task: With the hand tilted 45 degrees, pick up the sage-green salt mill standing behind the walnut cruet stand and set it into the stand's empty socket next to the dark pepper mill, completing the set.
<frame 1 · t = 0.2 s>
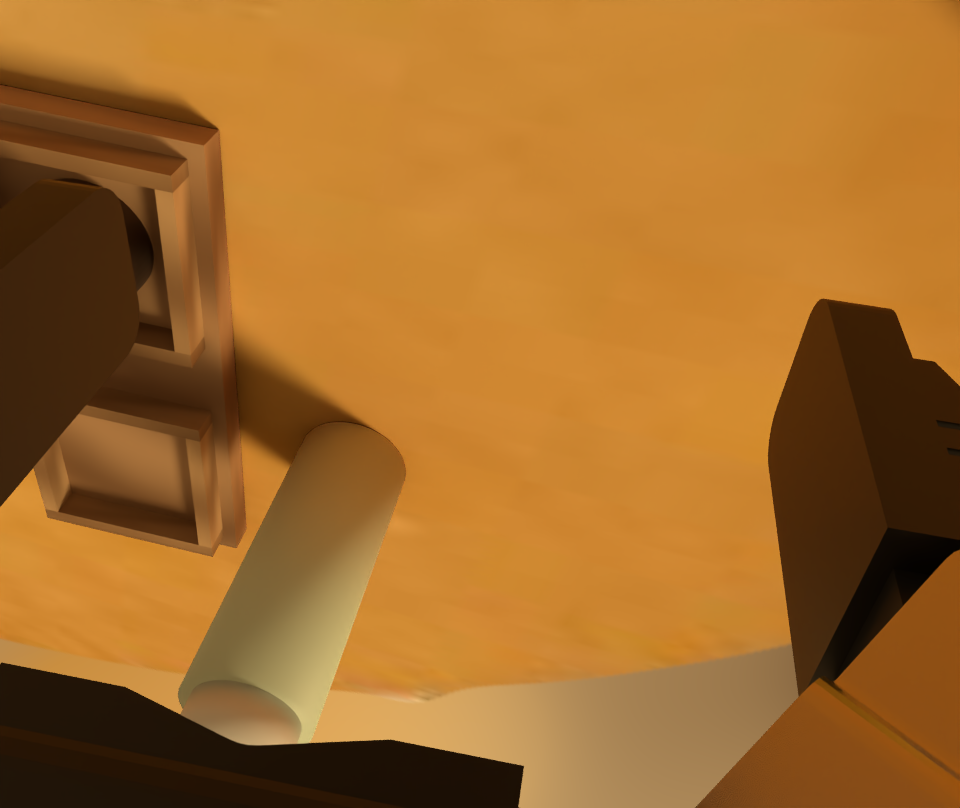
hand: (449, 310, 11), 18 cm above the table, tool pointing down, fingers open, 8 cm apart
cruet stand: (127, 341, 37), on the table
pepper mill: (91, 238, 32), point 1 cm above the table, touching cruet stand
salt mill: (353, 463, 39), on the table
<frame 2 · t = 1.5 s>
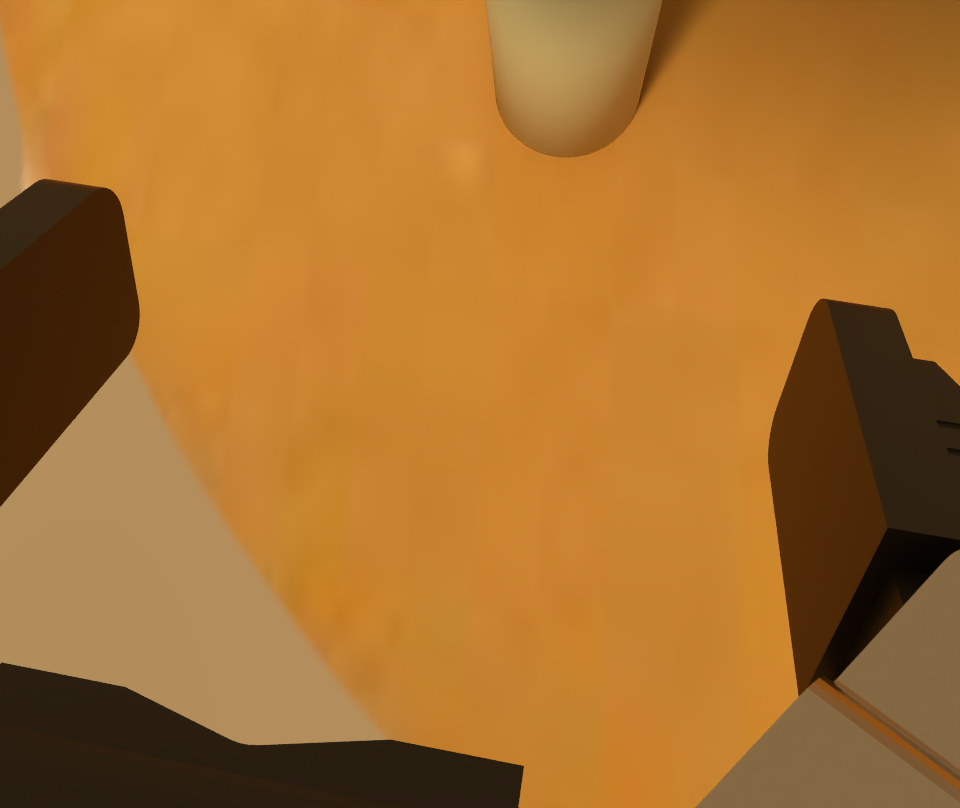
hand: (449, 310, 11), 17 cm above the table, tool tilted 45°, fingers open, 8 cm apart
salt mill: (567, 88, 29), on the table
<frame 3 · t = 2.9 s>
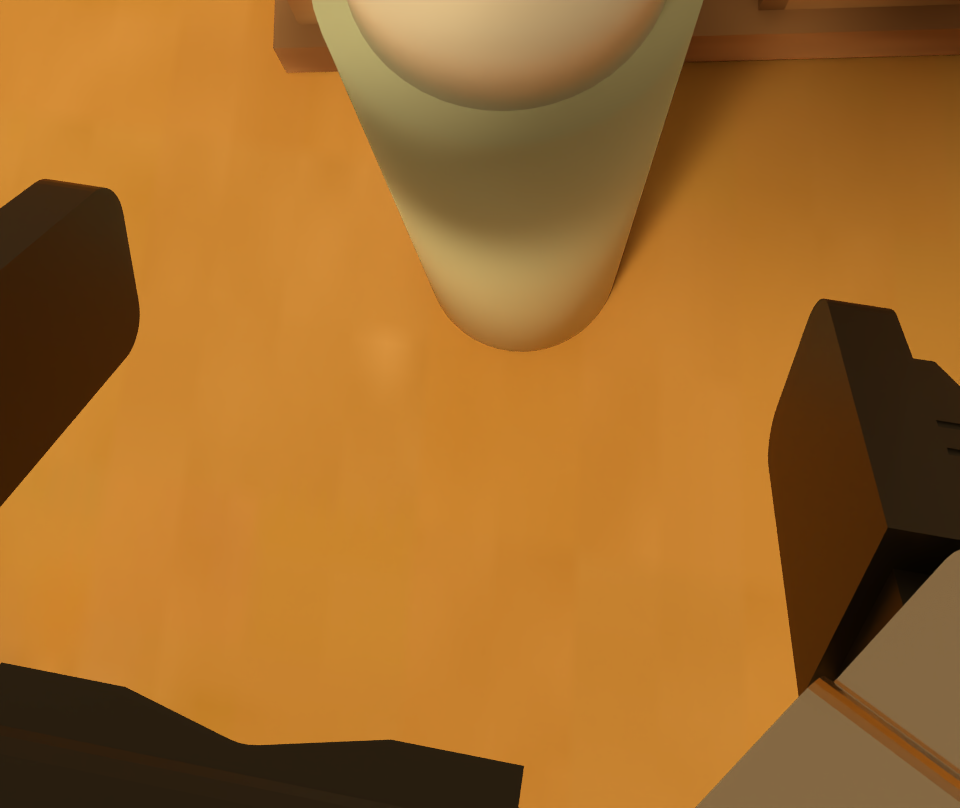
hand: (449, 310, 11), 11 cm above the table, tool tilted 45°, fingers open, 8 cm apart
salt mill: (522, 259, 22), on the table
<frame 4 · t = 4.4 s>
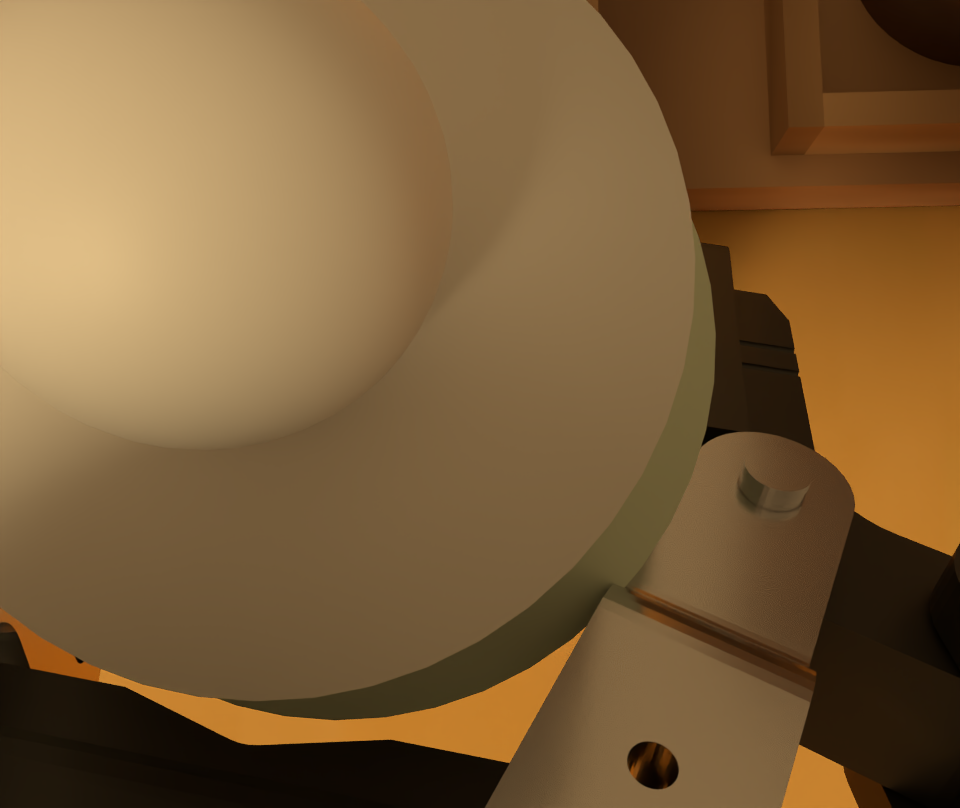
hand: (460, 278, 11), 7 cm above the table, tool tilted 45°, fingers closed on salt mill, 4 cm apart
salt mill: (471, 465, 18), on the table, touching gripper
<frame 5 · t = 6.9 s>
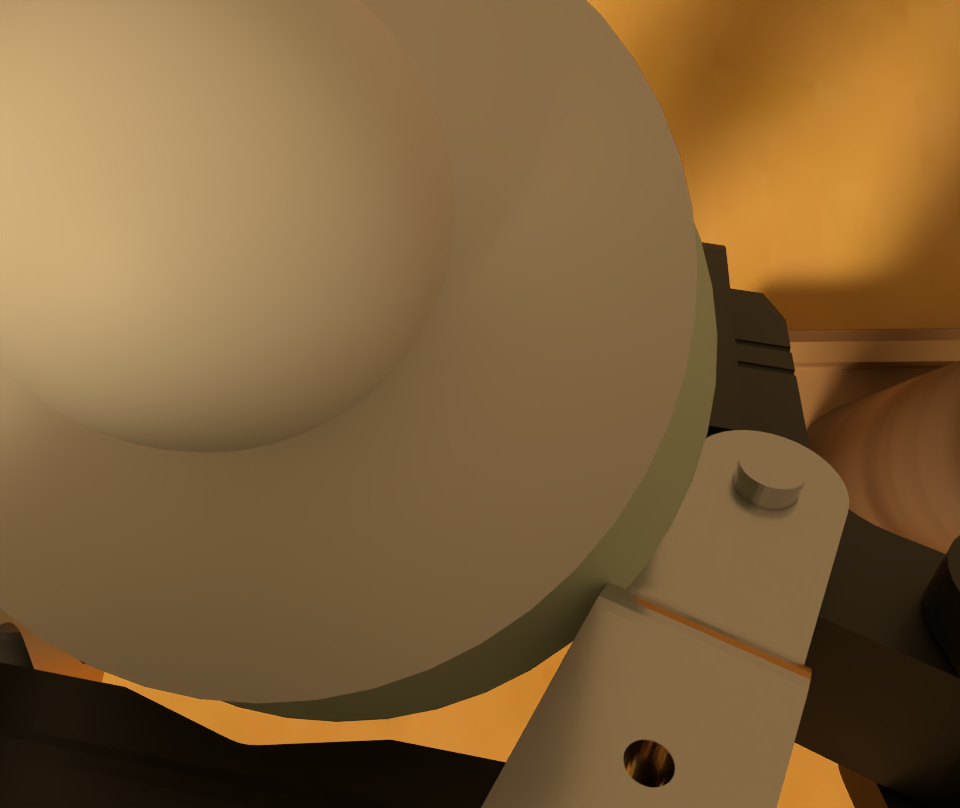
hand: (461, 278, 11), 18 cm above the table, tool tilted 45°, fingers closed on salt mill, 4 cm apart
cruet stand: (674, 482, 28), on the table
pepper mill: (870, 480, 27), point 1 cm above the table, touching cruet stand
salt mill: (472, 466, 18), point 11 cm above the table, touching gripper
when the fingers open (9 cm above the table, at t = 9.2 s): salt mill stays where it is, resting on cruet stand.
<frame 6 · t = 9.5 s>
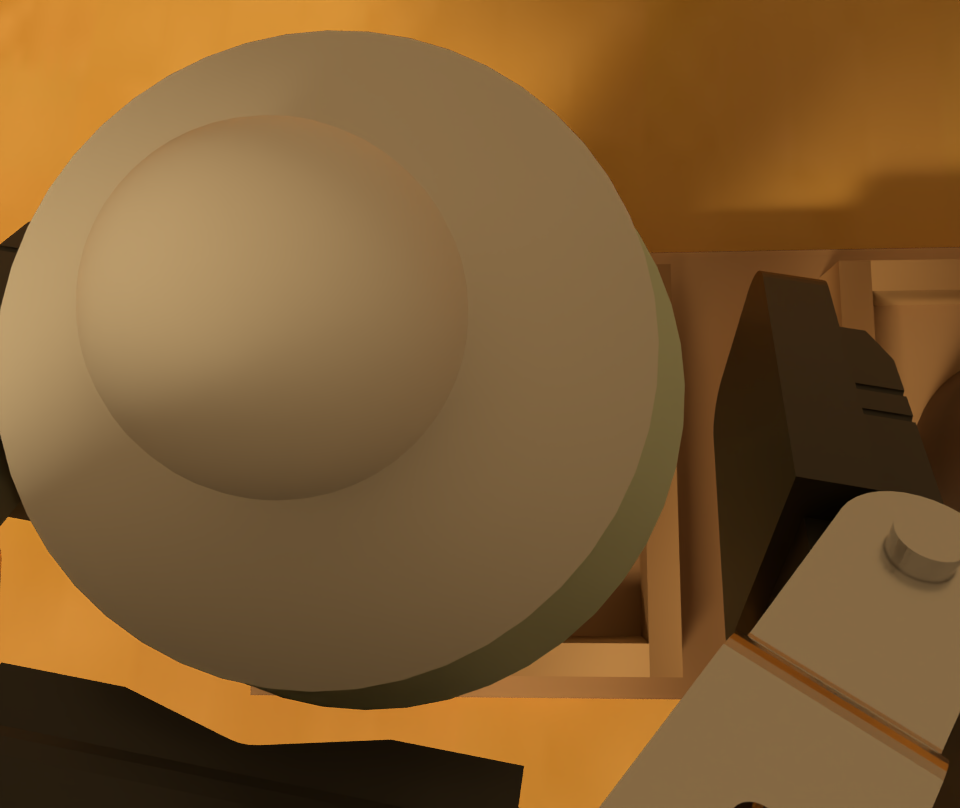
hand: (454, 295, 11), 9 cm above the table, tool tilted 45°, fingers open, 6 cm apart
cruet stand: (734, 471, 20), on the table
salt mill: (475, 476, 19), point 1 cm above the table, touching cruet stand
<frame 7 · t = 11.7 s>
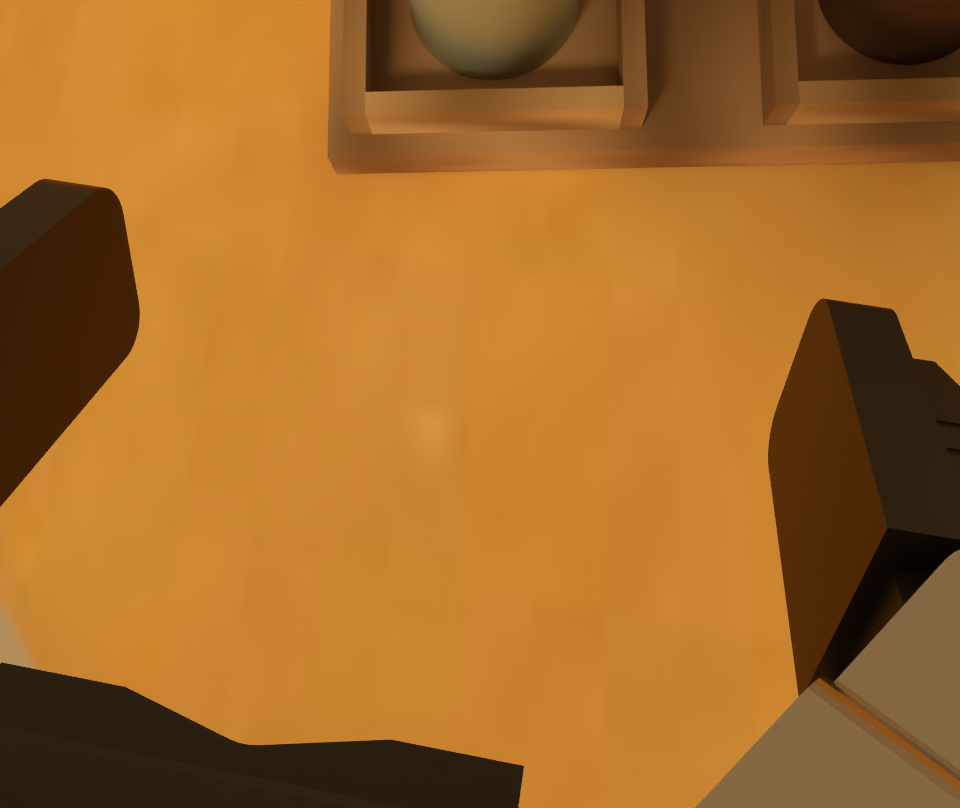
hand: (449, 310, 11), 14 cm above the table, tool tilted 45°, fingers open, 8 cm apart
cruet stand: (688, 15, 26), on the table
salt mill: (494, 1, 25), point 1 cm above the table, touching cruet stand
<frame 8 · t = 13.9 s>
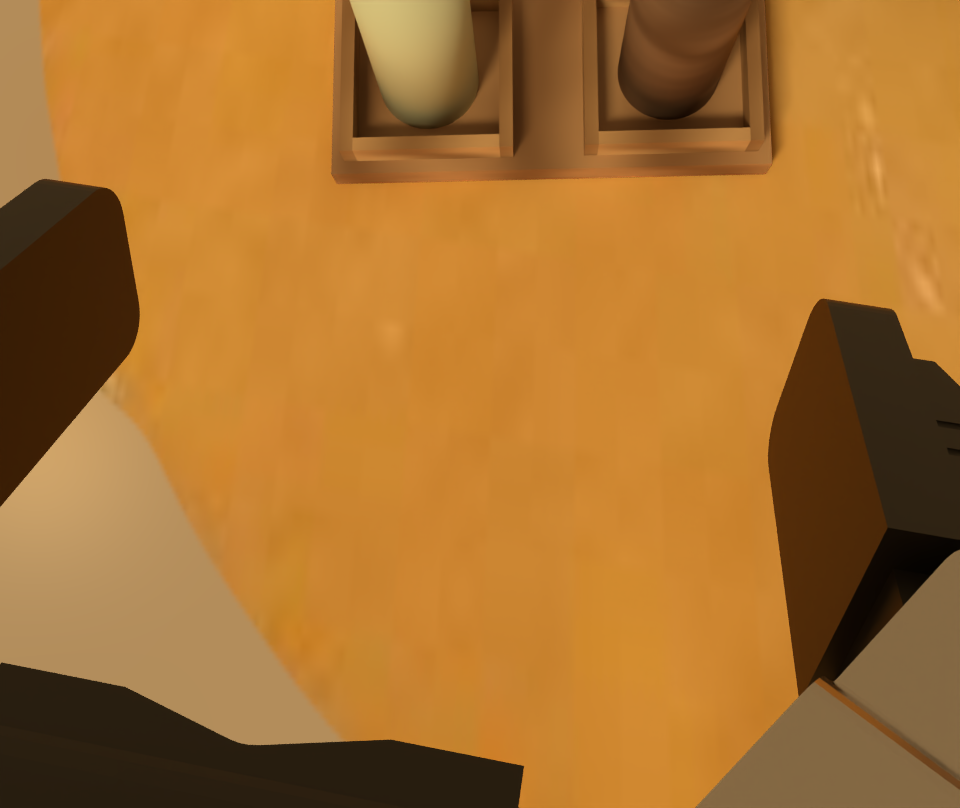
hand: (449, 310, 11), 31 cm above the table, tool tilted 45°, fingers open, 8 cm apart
cruet stand: (547, 88, 43), on the table
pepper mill: (668, 72, 42), point 1 cm above the table, touching cruet stand
salt mill: (429, 82, 42), point 1 cm above the table, touching cruet stand
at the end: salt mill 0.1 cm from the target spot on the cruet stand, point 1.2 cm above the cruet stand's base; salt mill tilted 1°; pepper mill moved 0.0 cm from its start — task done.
